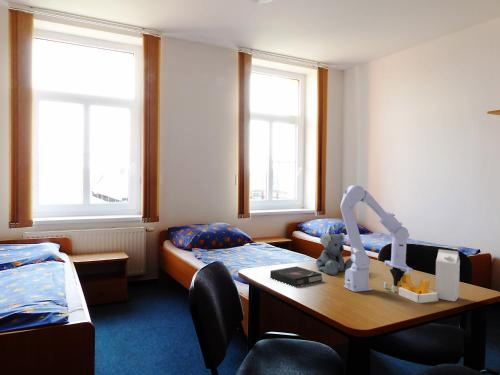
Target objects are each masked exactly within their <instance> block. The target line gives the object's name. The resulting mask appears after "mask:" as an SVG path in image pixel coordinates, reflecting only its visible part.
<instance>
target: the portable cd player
mask: <svg viewBox="0 0 500 375" xmlns="http://www.w3.org/2000/svg"><path fill="white" fill-rule="evenodd" d="M269 274H270V277H269V278H270V279H271V278H272V279H271V280H274V279H275V280H274V281H276V280H277V282H279V281H280V283H282V282H283V283H282V284H285V283H286V285H288V284H289V285H288V286H290V285H291V287H293V286H294V288H297V286H298V287H302V286H301V285H303V286H307V285H311V283H312V284H316V283H315V282H317V283H321V282H323V274H322V273H321V272H317V271H314V270H311V269H307V268H304V267H300V266H291V267H286V268H279V269H273V270H270V273H269ZM306 284H307V285H306Z"/></svg>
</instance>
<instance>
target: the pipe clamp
mask: <svg viewBox="0 0 500 375" xmlns="http://www.w3.org/2000/svg"><path fill="white" fill-rule="evenodd" d="M430 282H431V281H429V280H426V279H421V280H420V281H419V284H418V285H416V286H417V287H416V286H415V285H414V284H413V283H412V280H411V274H409V273H404V275H403V276H402V278H401V281H398V285H397V286H396V289H398V290H399V287H401V288H404V289H406V290H409V291H411V292H414V293H416V294H419V295H420V294H428V290H430Z"/></svg>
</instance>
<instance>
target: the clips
mask: <svg viewBox="0 0 500 375" xmlns="http://www.w3.org/2000/svg"><path fill="white" fill-rule="evenodd" d="M395 292H396V286H394V284H393V285H391V293H395Z"/></svg>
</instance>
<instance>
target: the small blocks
mask: <svg viewBox="0 0 500 375" xmlns="http://www.w3.org/2000/svg"><path fill="white" fill-rule="evenodd" d="M383 289H388V282H386V281H384V282H383Z"/></svg>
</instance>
